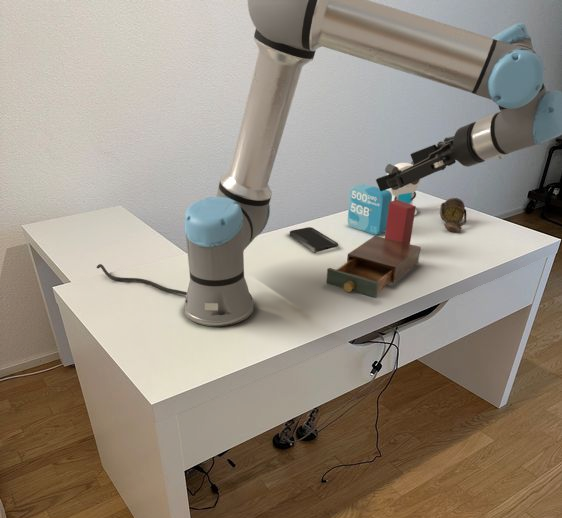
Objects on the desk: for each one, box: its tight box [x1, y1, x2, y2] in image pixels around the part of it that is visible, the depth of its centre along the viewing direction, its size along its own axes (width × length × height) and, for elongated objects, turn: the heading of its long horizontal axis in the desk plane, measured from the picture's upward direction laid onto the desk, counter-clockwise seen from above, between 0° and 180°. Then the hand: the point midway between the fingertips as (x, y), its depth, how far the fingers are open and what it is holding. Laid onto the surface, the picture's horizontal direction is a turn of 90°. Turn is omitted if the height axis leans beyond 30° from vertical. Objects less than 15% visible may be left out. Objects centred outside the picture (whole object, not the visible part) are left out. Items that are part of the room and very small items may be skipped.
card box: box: [384, 200, 417, 244], centre depth 145 cm, size 6×3×13 cm, turn 35°
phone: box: [289, 226, 339, 254], centre depth 153 cm, size 8×1×15 cm
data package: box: [347, 183, 392, 236], centre depth 159 cm, size 12×4×12 cm, turn 45°
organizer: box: [346, 235, 422, 283], centre depth 137 cm, size 15×13×5 cm
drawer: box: [326, 258, 394, 299], centre depth 130 cm, size 17×13×5 cm
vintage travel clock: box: [439, 197, 467, 233], centre depth 163 cm, size 7×13×10 cm
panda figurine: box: [384, 160, 421, 216], centre depth 171 cm, size 12×11×15 cm
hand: (396, 171), depth 120 cm, fingers open, 13 cm apart
